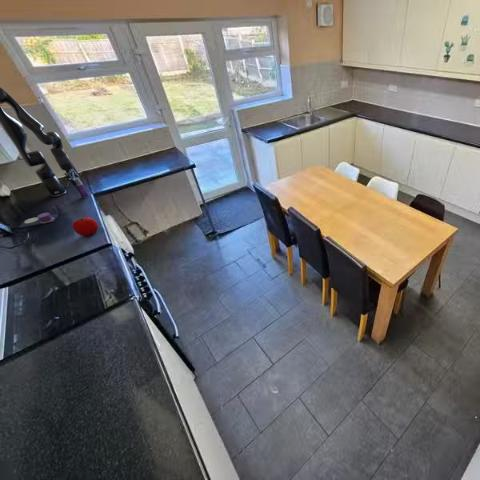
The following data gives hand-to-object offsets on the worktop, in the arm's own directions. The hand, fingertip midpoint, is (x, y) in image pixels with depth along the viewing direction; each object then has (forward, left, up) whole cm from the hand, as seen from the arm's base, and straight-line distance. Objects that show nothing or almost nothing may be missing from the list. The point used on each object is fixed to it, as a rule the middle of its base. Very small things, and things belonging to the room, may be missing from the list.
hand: (77, 183), depth 201 cm
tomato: (+59, +16, -11) cm, 62 cm away
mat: (+28, -20, -11) cm, 36 cm away
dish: (+30, -15, -11) cm, 35 cm away
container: (0, 0, -11) cm, 11 cm away
